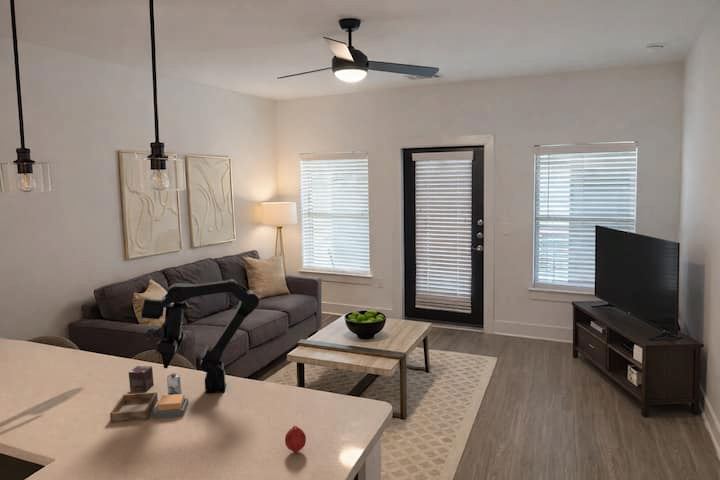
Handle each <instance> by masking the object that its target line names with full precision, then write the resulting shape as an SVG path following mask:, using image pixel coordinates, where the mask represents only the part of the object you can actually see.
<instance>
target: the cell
mask: <svg viewBox="0 0 720 480" xmlns="http://www.w3.org/2000/svg"><path fill="white" fill-rule="evenodd" d="M181 378H182V377H181V374H180V373H177V372H176V373H175V372H173V373H171V374H168V375H167V376H166V381H167V384H166V385H167V395H174V394H182V382H181V381H182V380H181Z"/></svg>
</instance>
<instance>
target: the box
mask: <svg viewBox="0 0 720 480" xmlns="http://www.w3.org/2000/svg"><path fill="white" fill-rule="evenodd" d="M153 374H154V373H153V366H143V365H142V366H140V365H139V366H138V365H137V366H135V367H134V368H133V369H132V370H130V371H129V372H128V380H129V381H128V382H129V388H130V389H129V391H130V392H143V393H147V391H148V390H149V389H151V388H152V387H153V386H154V375H153Z"/></svg>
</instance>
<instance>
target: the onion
mask: <svg viewBox="0 0 720 480" xmlns="http://www.w3.org/2000/svg"><path fill="white" fill-rule="evenodd" d="M306 442H307V437H306V433H305V431H304V430H303V429H301V428H300V427H298V426H297V425H293V426H292V428H290V429H289V430H288V431H287V432H286V434H285V436H284V444H285V447H286V448H287V449H288V450H289V451H292V452H293V453H295V454H297V453H299V452H300V451H301V450H302V449H303V448H304V447H305V445H306Z"/></svg>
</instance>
